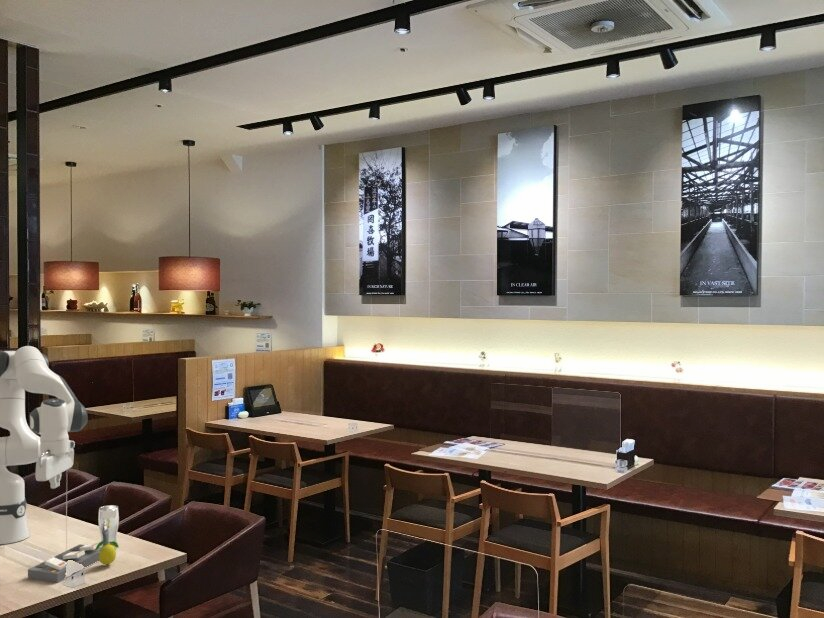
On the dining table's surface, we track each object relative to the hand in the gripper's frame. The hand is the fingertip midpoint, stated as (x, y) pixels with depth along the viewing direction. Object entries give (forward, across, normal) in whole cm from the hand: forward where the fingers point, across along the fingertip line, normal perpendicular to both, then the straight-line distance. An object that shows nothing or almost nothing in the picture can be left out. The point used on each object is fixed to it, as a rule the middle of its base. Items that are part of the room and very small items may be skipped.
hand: (55, 487), depth 252 cm
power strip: (+28, +2, -4) cm, 28 cm away
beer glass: (+28, +20, -10) cm, 36 cm away
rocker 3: (+24, +9, -8) cm, 27 cm away
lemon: (+28, +3, -16) cm, 33 cm away
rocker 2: (+24, +1, -6) cm, 24 cm away
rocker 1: (+24, -6, -3) cm, 25 cm away
